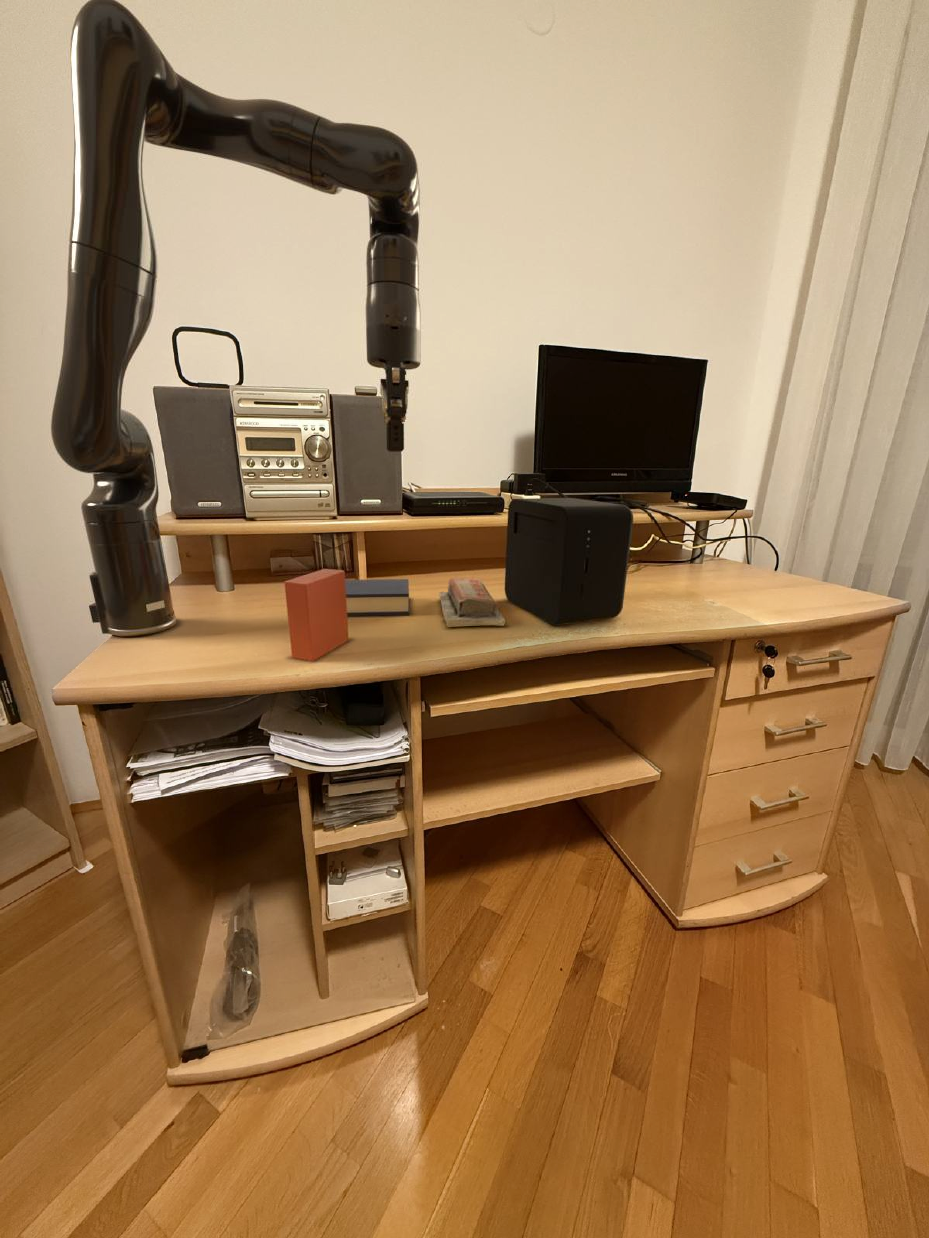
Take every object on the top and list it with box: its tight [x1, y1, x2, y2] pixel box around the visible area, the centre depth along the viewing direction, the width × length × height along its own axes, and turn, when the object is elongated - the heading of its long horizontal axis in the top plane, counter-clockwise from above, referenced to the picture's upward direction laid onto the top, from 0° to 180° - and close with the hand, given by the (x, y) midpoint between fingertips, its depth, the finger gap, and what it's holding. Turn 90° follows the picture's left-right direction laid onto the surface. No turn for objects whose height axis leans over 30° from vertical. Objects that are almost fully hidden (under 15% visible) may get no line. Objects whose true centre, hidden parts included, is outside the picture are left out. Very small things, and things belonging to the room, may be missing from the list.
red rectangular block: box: [284, 568, 350, 662], centre depth 70 cm, size 9×4×11 cm, turn 160°
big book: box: [345, 578, 410, 617], centre depth 92 cm, size 14×11×4 cm
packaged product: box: [438, 577, 506, 628], centre depth 90 cm, size 18×5×10 cm
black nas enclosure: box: [504, 497, 634, 626], centre depth 90 cm, size 20×15×20 cm
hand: (395, 451), depth 73 cm, fingers open, 8 cm apart
